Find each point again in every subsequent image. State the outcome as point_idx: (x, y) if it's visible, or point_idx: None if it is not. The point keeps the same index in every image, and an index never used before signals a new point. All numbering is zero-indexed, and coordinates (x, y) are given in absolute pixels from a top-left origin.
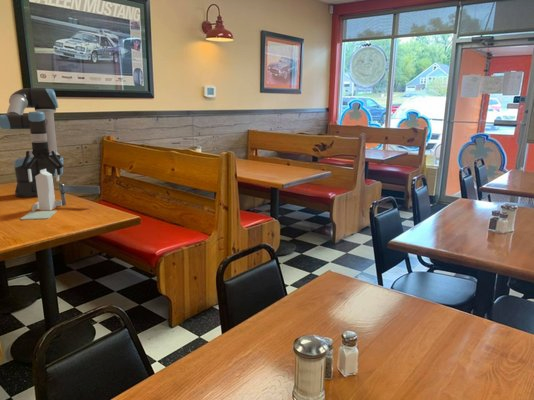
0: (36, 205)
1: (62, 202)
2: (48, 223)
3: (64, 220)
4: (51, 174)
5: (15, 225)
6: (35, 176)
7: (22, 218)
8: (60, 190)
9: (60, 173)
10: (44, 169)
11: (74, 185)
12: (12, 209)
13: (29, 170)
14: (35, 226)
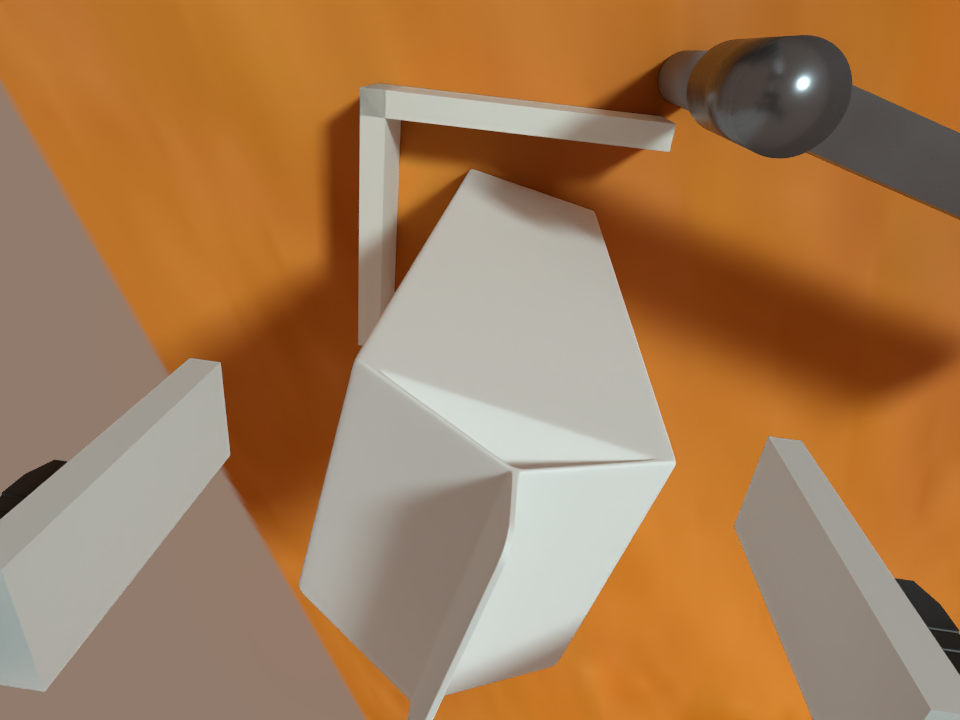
0: (386, 252)
1: (676, 105)
2: (591, 655)
3: (699, 626)
4: (661, 482)
5: None
6: (307, 589)
7: None
8: (713, 130)
9: (937, 613)
10: (476, 622)
11: None
12: (130, 177)
13: (55, 645)
14: (517, 684)
